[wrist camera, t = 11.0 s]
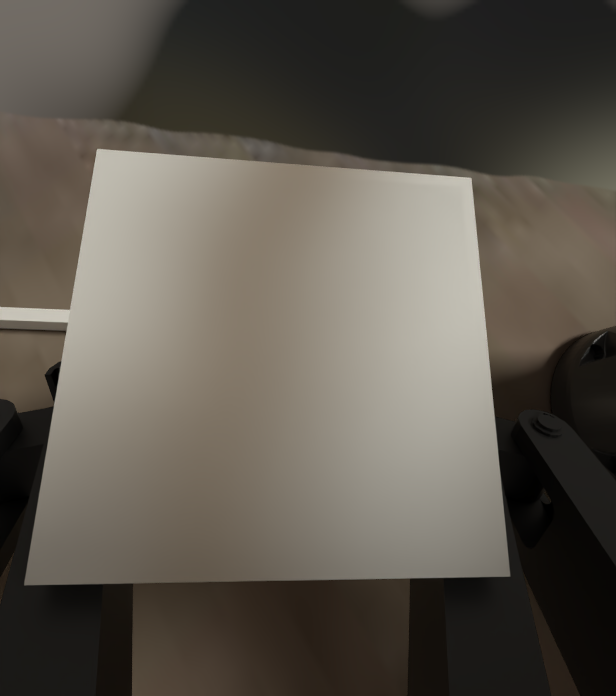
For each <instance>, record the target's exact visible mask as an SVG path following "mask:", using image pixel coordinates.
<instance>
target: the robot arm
mask: <svg viewBox="0 0 616 696" xmlns="http://www.w3.org/2000/svg"><path fill="white" fill-rule="evenodd" d="M61 362H62V361H61ZM61 362H58V363H57V364H55V365H54V366H52V367H51V368H49V370H48V371H47V373H46V374H45V377H46V380H47V383H48V386H49V389H50V392H51V395H52V397H53V400H54V403H55V397H56V392H57V386H58V380H59V374H60V368H61ZM551 406H552V413H553V414H549V413H548V412H544V411H539V410H525V411H523V412H521V413H520V414H519V416H518V418H517V420H516V422H514V421H510V420H506V419H502V418H498V417H495V425H496V436H497V446H498V456H499V466H500V476H501V486H502V497H503V507H504V517H505V527H506V537H507V547H508V558H509V568H510V577H457V578H410V612H409V657H408V696H551V693H550V688H549V684H548V680H547V675H546V671H545V667H544V662H543V658H542V653H541V649H540V645H539V640H538V636H537V632H536V627H535V623H534V619H533V614H532V610H531V605H530V601H529V597H528V592H527V588H526V584H525V579H524V575H523V572H524V574H525V576H526V578H527V581H528V583H529V585H530V587H531V589H532V592H533V594H534V596H535V598H536V600H537V602H538V605H539V607H540V609H541V611H542V613H543V615H544V618H545V620H546V622H547V624H548V626H549V628H550V631H551V633H552V635H553V637H554V639H555V641H556V644H557V646H558V648H559V650H560V652H561V654H562V657H563V659H564V661H565V663H566V665H567V667H568V670H569V672H570V674H571V676H572V678H573V680H574V683H575V685H576V687H577V689H578V691H579V693H580V696H616V326H613V327H609V328H606V329H603V330H600V331H597V332H594V333H591V334H588V335H586V336H584V337H582V338H580V339H579V340H577V341H576V342H575V343H573V344H572V345H571V346H570V347H569V348H568V349H567V350H566V352H565V353H564V354H563V356H562V357H561V359H560V361H559V363H558V365H557V367H556V370H555V372H554V376H553V380H552V387H551ZM53 409H54V407H49V408H45V409H40V410H34V411H28V412H23V413H17V410H16V408H15V406H14V404H13V403H11V402H10V401H8V400H3V399H0V577H1V575H2V573H3V571H4V569H5V568H6V566H7V564H8V562H9V560H10V558H11V557H12V555H13V553H14V556H13V560H12V563H11V567H10V571H9V574H8V578H7V582H6V586H5V589H4V593H3V597H2V600H1V604H0V696H132V614H133V583H123V584H68V585H24V582H25V576H26V570H27V564H28V558H29V552H30V546H31V540H32V534H33V528H34V523H35V517H36V511H37V505H38V499H39V493H40V487H41V481H42V475H43V469H44V463H45V457H46V451H47V445H48V439H49V433H50V427H51V421H52V415H53ZM545 490H546V492H547V493H548V495H549V497H550V499H551V501H552V502H551V503H550V501H549V500H548V499H547V497H546V496H545V494H544V492H545ZM14 551H15V552H14ZM522 570H523V571H522Z"/></svg>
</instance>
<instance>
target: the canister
mask: <svg viewBox="0 0 616 696" xmlns="http://www.w3.org/2000/svg"><path fill="white" fill-rule="evenodd" d="M457 577H510V568H509V558H508V547H507V537H506V527H505V517H504V507H503V497H502V486H501V476H500V466H499V456H498V446H497V436H496V425H495V415H494V405H493V395H492V385H491V374H490V364H489V354H488V344H487V334H486V324H485V313H484V303H483V293H482V283H481V273H480V263H479V252H478V242H477V232H476V222H475V212H474V201H473V191H472V181H471V178H464V177H451V176H438V175H425V174H412V173H399V172H386V171H373V170H361V169H348V168H335V167H322V166H309V165H296V164H283V163H270V162H257V161H244V160H231V159H219V158H206V157H193V156H180V155H167V154H154V153H141V152H128V151H115V150H102V149H97V153H96V159H95V165H94V171H93V177H92V183H91V189H90V195H89V201H88V207H87V213H86V219H85V225H84V231H83V237H82V243H81V249H80V255H79V261H78V266H77V272H76V278H75V284H74V290H73V296H72V302H71V308H70V314H69V320H68V326H67V332H66V338H65V344H64V350H63V356H62V362H61V368H60V374H59V380H58V386H57V392H56V397H55V403H54V409H53V415H52V421H51V427H50V433H49V439H48V445H47V451H46V457H45V463H44V469H43V475H42V481H41V487H40V493H39V499H38V505H37V511H36V517H35V523H34V528H33V534H32V540H31V546H30V552H29V558H28V564H27V570H26V576H25V582H24V585H68V584H123V583H179V582H235V581H290V580H346V579H402V578H457Z"/></svg>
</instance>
